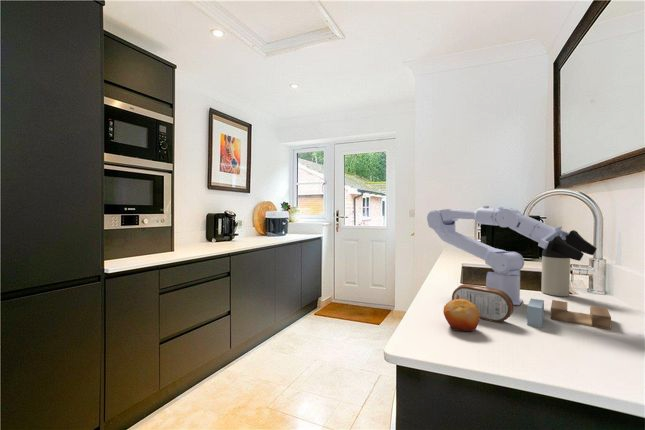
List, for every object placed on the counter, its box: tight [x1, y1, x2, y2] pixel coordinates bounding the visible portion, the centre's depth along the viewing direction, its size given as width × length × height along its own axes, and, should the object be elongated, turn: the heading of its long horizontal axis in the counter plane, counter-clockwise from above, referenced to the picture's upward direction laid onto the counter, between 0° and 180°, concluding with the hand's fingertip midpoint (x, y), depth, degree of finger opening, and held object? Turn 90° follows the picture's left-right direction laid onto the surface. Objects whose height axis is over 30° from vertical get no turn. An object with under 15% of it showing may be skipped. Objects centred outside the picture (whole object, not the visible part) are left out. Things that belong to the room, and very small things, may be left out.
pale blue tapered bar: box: [526, 298, 545, 329], centre depth 83 cm, size 3×9×5 cm, turn 142°
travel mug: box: [540, 248, 571, 297], centre depth 112 cm, size 8×8×18 cm
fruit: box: [442, 299, 481, 332], centre depth 78 cm, size 8×8×8 cm
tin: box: [451, 283, 515, 323], centre depth 86 cm, size 15×3×8 cm, turn 47°
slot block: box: [550, 299, 612, 330], centre depth 85 cm, size 12×10×3 cm
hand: (588, 254), depth 84 cm, fingers open, 7 cm apart
